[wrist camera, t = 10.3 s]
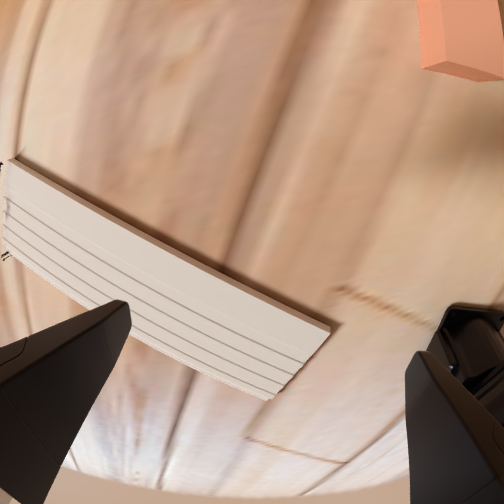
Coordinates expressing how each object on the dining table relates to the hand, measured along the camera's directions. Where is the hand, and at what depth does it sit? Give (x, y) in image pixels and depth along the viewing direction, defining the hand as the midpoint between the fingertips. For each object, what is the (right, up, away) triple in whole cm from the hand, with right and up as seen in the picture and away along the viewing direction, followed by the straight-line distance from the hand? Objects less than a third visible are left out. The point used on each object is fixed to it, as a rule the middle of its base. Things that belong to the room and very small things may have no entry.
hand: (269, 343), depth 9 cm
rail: (+11, +21, +2) cm, 24 cm away
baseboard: (-11, 0, +17) cm, 20 cm away
